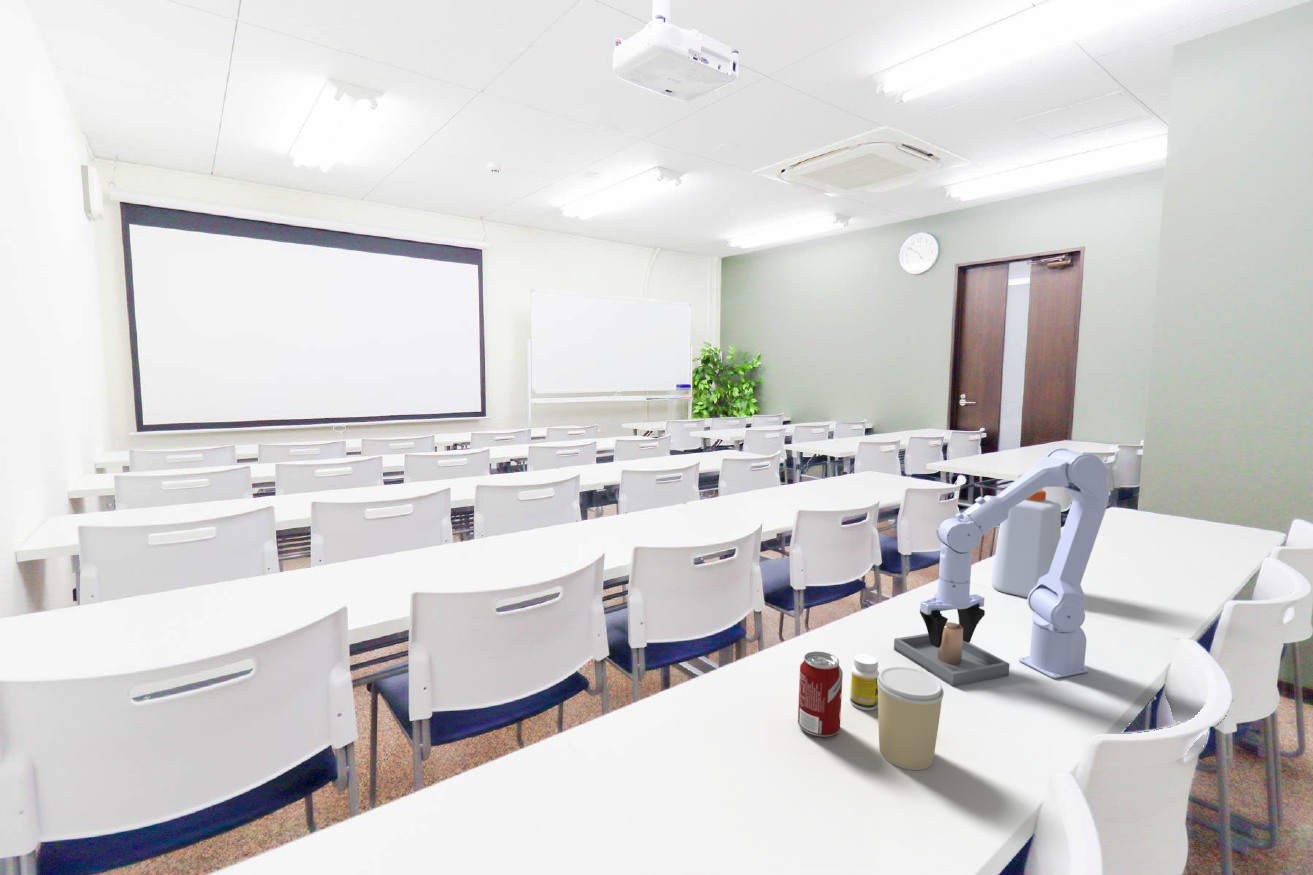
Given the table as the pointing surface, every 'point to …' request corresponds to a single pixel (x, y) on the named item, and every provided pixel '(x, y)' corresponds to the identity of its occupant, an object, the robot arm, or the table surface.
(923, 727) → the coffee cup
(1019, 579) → the plastic bottle
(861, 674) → the supplement bottle
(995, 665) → the tray
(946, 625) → the peach cylinder
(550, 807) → the table surface
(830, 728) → the soda can
